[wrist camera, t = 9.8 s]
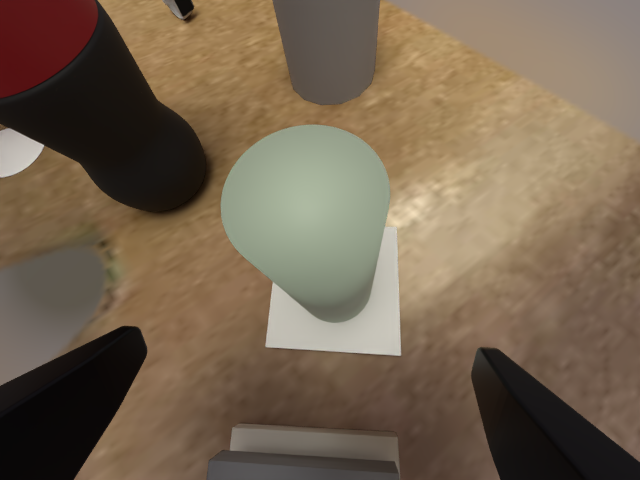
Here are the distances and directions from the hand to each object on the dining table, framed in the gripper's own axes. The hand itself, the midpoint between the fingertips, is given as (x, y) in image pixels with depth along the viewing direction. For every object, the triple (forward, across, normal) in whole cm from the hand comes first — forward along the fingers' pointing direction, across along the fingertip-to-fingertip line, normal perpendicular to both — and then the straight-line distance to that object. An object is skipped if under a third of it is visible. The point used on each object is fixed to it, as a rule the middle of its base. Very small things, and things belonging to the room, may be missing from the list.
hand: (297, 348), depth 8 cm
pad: (+13, 0, +6) cm, 14 cm away
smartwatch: (+35, +19, -16) cm, 43 cm away
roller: (+12, 0, +6) cm, 13 cm away
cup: (+28, +1, -9) cm, 29 cm away
